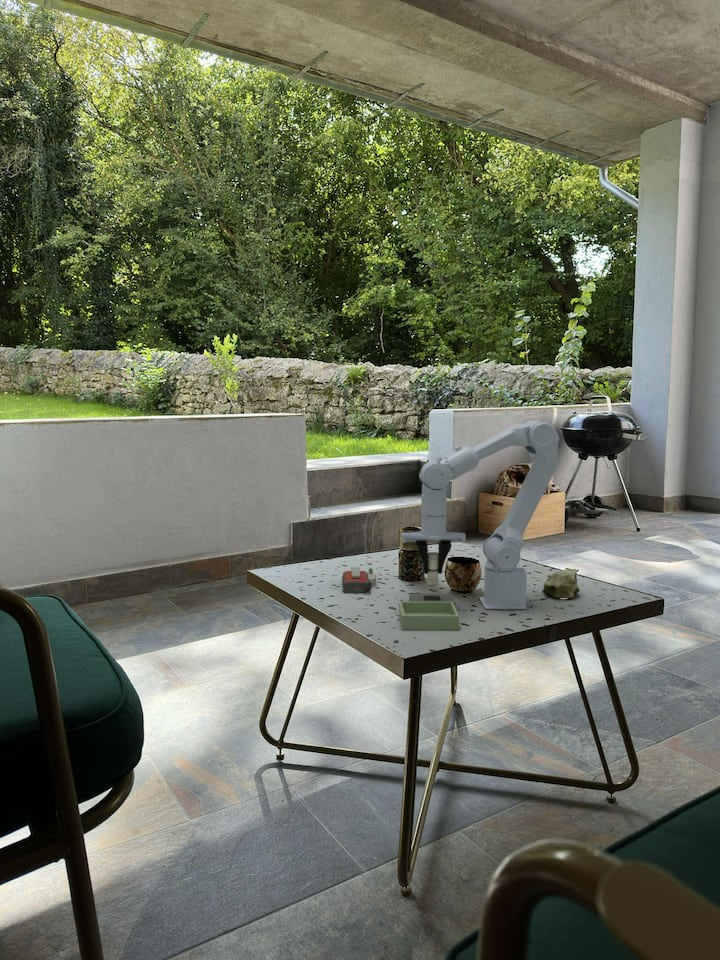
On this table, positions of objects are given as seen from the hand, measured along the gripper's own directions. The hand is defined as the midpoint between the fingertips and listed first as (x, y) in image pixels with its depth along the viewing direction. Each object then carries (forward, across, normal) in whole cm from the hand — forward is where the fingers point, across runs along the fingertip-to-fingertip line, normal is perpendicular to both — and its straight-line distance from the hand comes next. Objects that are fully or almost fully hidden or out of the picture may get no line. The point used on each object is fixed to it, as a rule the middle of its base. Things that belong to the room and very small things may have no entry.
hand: (432, 572), depth 166 cm
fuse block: (+8, 0, 0) cm, 8 cm away
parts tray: (+8, -2, -11) cm, 14 cm away
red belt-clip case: (+9, -17, +19) cm, 27 cm away
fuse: (+3, 0, 0) cm, 3 cm away
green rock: (+8, +33, +9) cm, 35 cm away
